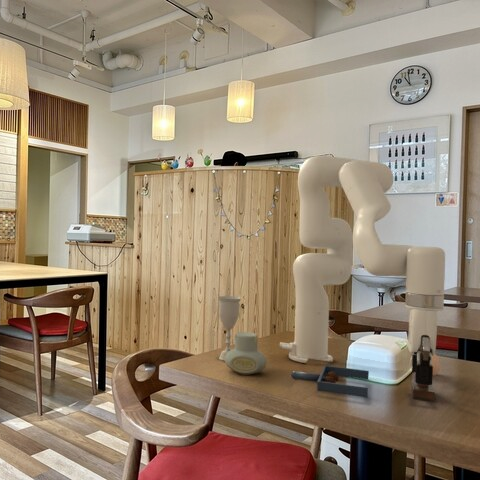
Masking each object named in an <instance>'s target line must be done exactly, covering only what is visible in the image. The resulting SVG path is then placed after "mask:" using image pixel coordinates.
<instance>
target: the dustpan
mask: <svg viewBox="0 0 480 480" xmlns="http://www.w3.org/2000/svg"><path fill="white" fill-rule="evenodd" d="M329 372H335V373H337V375H338V377H346V378H353V379H361V380H367V381H368V380H369V378H370V377H369V376H370V375H369V374H370V371H369V370H365V369H357V368H350V367H349V368H348V367H341V366H340V367H339V366H334V365H323V367H322V370H321V373H320V374H319V373H311V372H310V373H309V372H304V371H297V370H295V371H292V372H291V374H290V376H291V379H293V381H294V380H295V381H297V380H302V381H308V382H317V387H316V388H317V389H316V390H317V391H318V392H326V393H333V394H339V395H345V396H353V397H359V398H364V399H365V398H369V394H368V393H369V387H366V386H365V387H364V386H358V385H357V386H356V385H351V384H343V383H338V382H337V383H329V382H323V380H324V378H325V377H326V376H327V374H328V373H329Z"/></svg>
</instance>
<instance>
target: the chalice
mask: <svg viewBox="0 0 480 480" xmlns="http://www.w3.org/2000/svg"><path fill="white" fill-rule="evenodd" d="M217 299H218V315H219V316H218V317H219V319H220V322H221V324H222V327H223V328H224V329H225V330H226V334H225V339H226V340H225V341H224V343H225V345H226V347H225V349H224V350H222V351H221V352H220V354H219V355H220V356H219V357H218V360H220V361H224V362H225V356H226V354H227V353H228V352H229V351H230V350H232V349H231V348H230V346H231V343H232V342H231V340H230V339H231V337H232V335H231V330H232V329H234V327H235V326H236V323H237V321H238V319H239V316H240V302H241V299H242V297H241V296H233V295H220V296H217Z"/></svg>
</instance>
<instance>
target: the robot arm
mask: <svg viewBox="0 0 480 480" xmlns="http://www.w3.org/2000/svg"><path fill="white" fill-rule="evenodd" d="M393 184H394V173H393V171H392V169H391V168H390V166H388V165H387V164H386V163H383V162H379V161H368V160H361V159H357V158H356V159H355V158H349V157H347V158H346V157H339V156H331V155H316V156H312V157H309V158H307V159H306V160H305V161H304V162H303V163H302V165H301V166H300V168H299V170H298V175H297V189H298V195H299V225H298V226H299V229H298V230H299V231H298V233H299V234H298V237H299V242H300V244H301V245H302V246H303V247H305V248H307V249H314V250H316V249H317V250H319V249H320V250H326V252H327V253H324V252H307V253H303V254H301V255H299V256H297V257H296V258H295V260H294V261H293V264H292V273H293V280H294V288H295V290H294V291H295V302H294V303H295V305H294V306H295V309H294V310H295V311H294V317H295V318H294V341H293V342H290V343H287V342H283V341H282V342H281V341H280V342H279V349H280V350H282V351H289V353H288V359H290V360H291V361H294V362H298V363H301V364H307V362H308V360H309V359H310V360H315V361H324V362H332V363H333V362H334V357H333V356H332V355H330V354H328V352H329V351H328V349H329V322H330V321H329V319H330V317H329V315H330V299H329V296H328V293H327V291H326V290H325V288H324V286H340V285H344V284H346V283H347V282H348V281H349V280H350V277H351V275H352V270H353V248H354V251H355V252H356V255H357V258H358V259H359V262H360V263H361V265H362V266H363V268H364V269H365V270H366V271H367V272H368V273H369V274H371V275H372V276H376V277H405V301H404V302H405V303H404V304H405V305H404V306H405V308H407V309H409V314H408V315H409V316H408V332H407V349H408V351H409V353H410V354H412V359H411V360H412V361H411V371H412V373H414V375H415V376H414V378H415V379H414V380H415V382H416V383H418V384H425V385H432V386H433V379H434V378H433V377H434V376H433V366H432V356H433V355H434V354H436V349H437V333H438V312H439V311H441V312H442V311H444V307H445V306H444V301H445V275H446V274H445V273H446V252H445V250H444V249H443V248H441V247H437V246H414V245H408V244H387V243H382V241H381V239H380V237H379V235H378V233H377V231H376V227H375V223H376V222H378V221H380V220H382V219H383V218H385V217H386V216H387V215H388V214H389V213H390V211H391V208H392V206H391V205H392V204H391V202H390V200H389V199H388V197H387V194H386V193H387V192H389V191H390V190H391V188H392V187H393ZM324 187H332V188H342V189H343V192H344V194H345V196H346V198H347V201H348V202H349V204H350V206H351V208H352V211H353V213H354V215H355V218H356V220H355V223H354V225H353V230H352V227H351V226H350V224H349V222H348V221H347V220H345V219H343V218H341V217H331V211H330V210H331V202H330V198H329V196H328V193H327V191H326V190H325V189H324Z"/></svg>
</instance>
